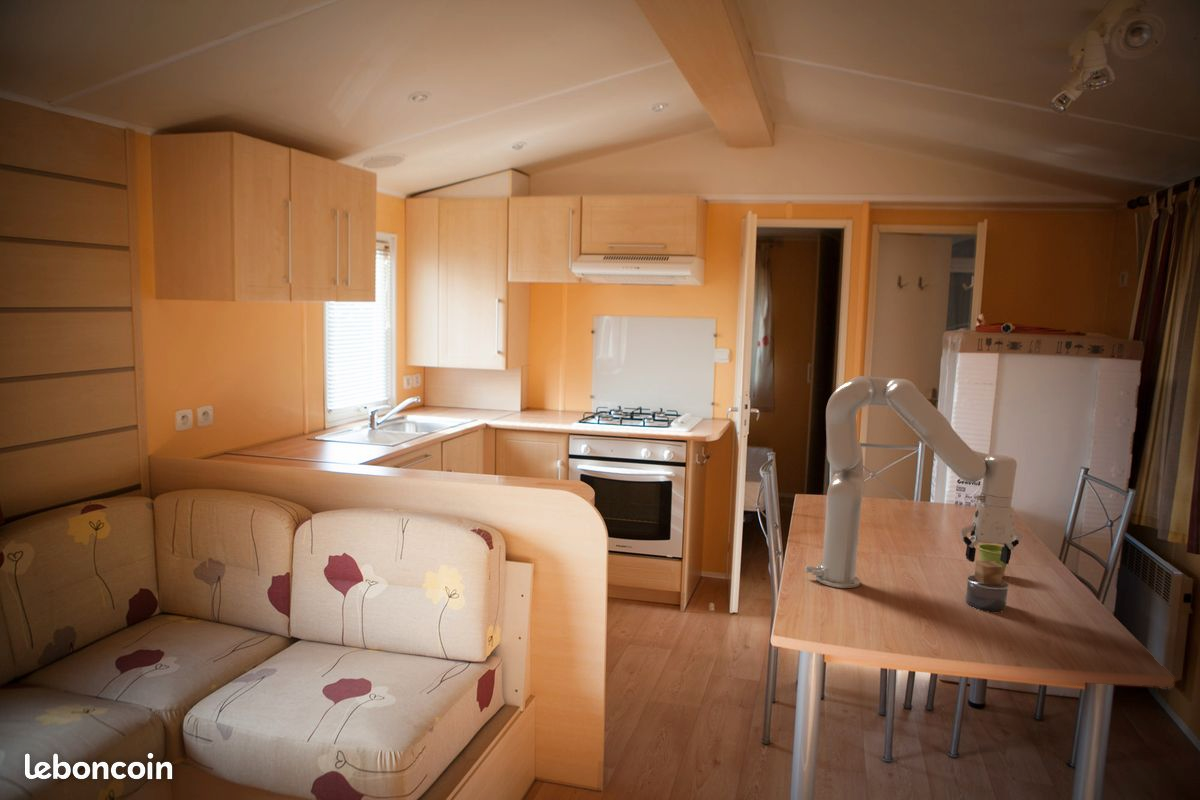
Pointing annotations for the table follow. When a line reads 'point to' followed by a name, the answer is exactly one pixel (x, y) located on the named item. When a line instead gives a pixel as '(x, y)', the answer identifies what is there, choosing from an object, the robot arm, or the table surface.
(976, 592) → the black tin
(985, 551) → the plant pot
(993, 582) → the walnut block
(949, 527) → the table surface
